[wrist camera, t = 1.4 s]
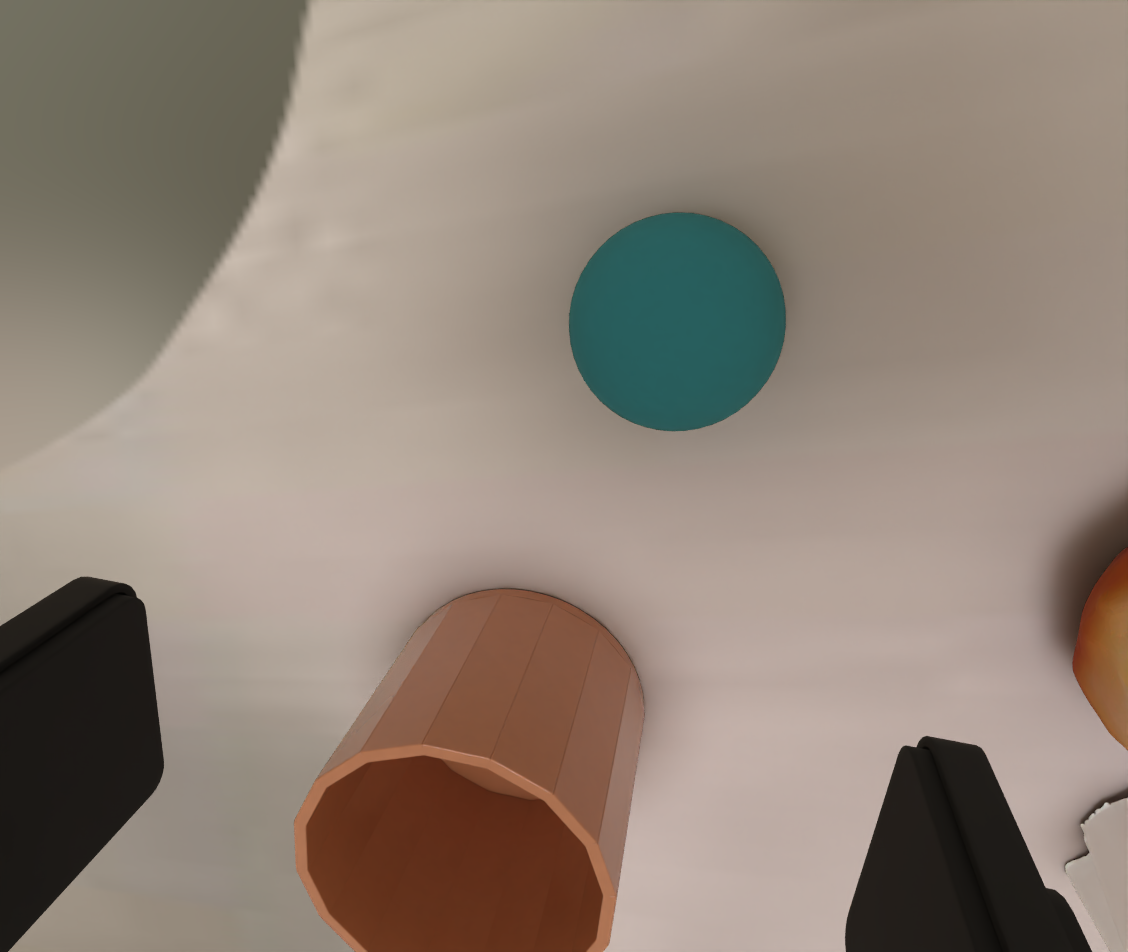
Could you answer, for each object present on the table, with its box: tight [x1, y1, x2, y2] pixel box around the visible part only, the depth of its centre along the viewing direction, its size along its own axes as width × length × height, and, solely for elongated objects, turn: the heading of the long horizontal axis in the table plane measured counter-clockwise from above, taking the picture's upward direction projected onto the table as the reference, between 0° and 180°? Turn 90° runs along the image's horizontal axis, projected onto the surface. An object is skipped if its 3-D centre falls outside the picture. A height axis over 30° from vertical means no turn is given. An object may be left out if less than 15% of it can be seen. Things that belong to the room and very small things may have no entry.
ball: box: [569, 213, 786, 431], centre depth 22 cm, size 6×6×6 cm
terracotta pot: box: [294, 589, 645, 952], centre depth 28 cm, size 10×10×9 cm
